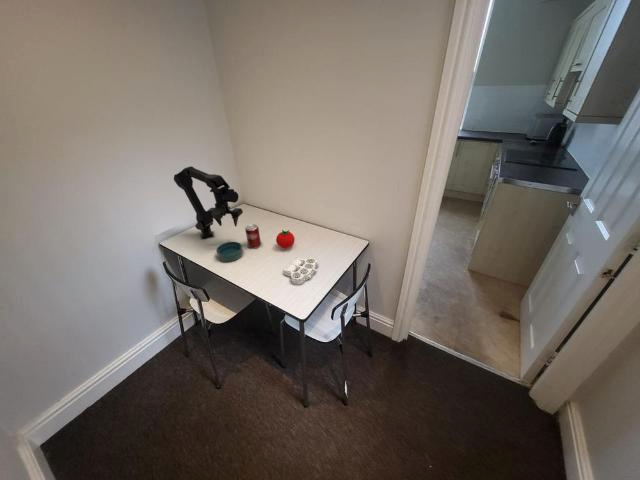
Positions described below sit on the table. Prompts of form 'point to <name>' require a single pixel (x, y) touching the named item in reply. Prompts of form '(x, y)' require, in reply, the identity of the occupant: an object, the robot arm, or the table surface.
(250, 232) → the soda can
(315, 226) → the table surface
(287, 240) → the tomato
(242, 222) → the table surface
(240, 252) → the bowl
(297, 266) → the white muffin tray
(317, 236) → the table surface
